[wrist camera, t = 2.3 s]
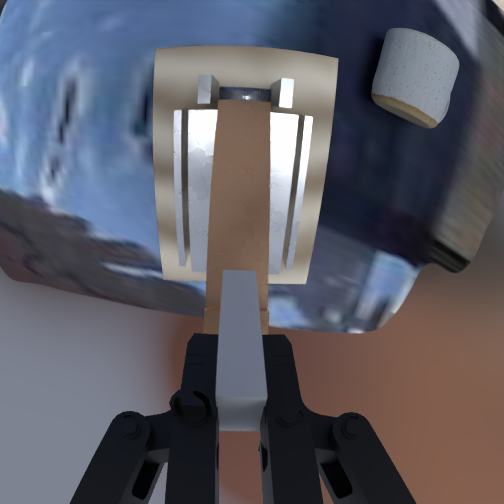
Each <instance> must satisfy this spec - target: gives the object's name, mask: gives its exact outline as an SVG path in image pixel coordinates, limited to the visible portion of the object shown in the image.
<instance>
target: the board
mask: <svg viewBox="0 0 504 504" xmlns="http://www.w3.org/2000/svg"><path fill="white" fill-rule="evenodd" d="M337 70H338V58H333V57H328V56H323V55H318V54H312V53H306V52H300V51H293V50H285V49H276V48H265V47H251V46H223V45H212V46H184V47H170V48H160V49H156V52H155V66H154V87H153V162H154V184H155V200H156V213H157V225H158V235H159V245H160V254H161V262H162V270H163V277H164V280H184V281H206V272H192V269H191V252H190V253H189V256H188V260H187V263H186V267H183V266H179V257H178V244H177V230H176V213H175V190H174V110H181V109H189V110H193V109H218V104H213V103H202V104H198V83H199V74H212V75H213V76H214V77H215V78H216V79H217V80H218V81H219V89H220V86H231V87H253V88H267V89H271V84H272V83H274V82H276V81H277V80H279V79H281V78H286V79H294V86H293V98H292V108H285V107H275V106H271V112H281V113H290V114H294V115H297V114H299V115H306V116H310V117H313V120H312V129H311V138H310V147H309V156H308V164H307V172H306V180H305V187H304V195H303V202H302V209H301V216H300V223H299V229H298V236H297V242H296V249H295V255H294V261H293V267H292V270H286V269H285V265H284V261H283V257H282V260H281V267H280V274H279V275H273V274H268V283H272V284H306V280H307V276H308V271H309V266H310V261H311V256H312V251H313V245H314V240H315V235H316V229H317V224H318V218H319V212H320V206H321V200H322V194H323V188H324V181H325V175H326V168H327V161H328V153H329V146H330V138H331V130H332V121H333V112H334V103H335V93H336V82H337ZM218 101H219V92H218Z"/></svg>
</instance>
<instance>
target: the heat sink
mask: <svg viewBox="0 0 504 504" xmlns="http://www.w3.org/2000/svg"><path fill="white" fill-rule="evenodd" d="M293 86H294V79H286V78H281V79H279V80H277V81H276V82H274V83H272V84H271V106H275V107H285V108H292V98H293ZM218 92H219V81H218V80H217V79H216V78H215V77H214V76H213V75H212V74H199V83H198V104H202V103H213V104H218ZM217 110H218V109H193V110H189V109H181V110H174V190H175V213H176V230H177V244H178V257H179V266H183V267H186V263H187V260H188V256H189V253H190V252H191V269H192V272H207V246H208V225H209V207H210V192H211V178H212V164H213V152H214V141H215V130H216V120H217ZM312 120H313V117H310V116H306V115H299V114H297V115H294V114H290V113H281V112H271V166H270V231H269V272H268V274H273V275H279V274H280V267H281V260H282V257H283V261H284V265H285V269H286V270H292V267H293V261H294V255H295V249H296V242H297V236H298V229H299V223H300V216H301V209H302V202H303V195H304V187H305V180H306V172H307V164H308V156H309V147H310V138H311V129H312Z"/></svg>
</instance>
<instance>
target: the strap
mask: <svg viewBox="0 0 504 504" xmlns="http://www.w3.org/2000/svg"><path fill="white" fill-rule="evenodd" d="M270 166H271V89H267V88H253V87H231V86H220V89H219V101H218V110H217V120H216V130H215V141H214V152H213V164H212V178H211V192H210V207H209V225H208V246H207V272H206V308H205V309H204V334H219V323H220V308H221V294H222V281H223V270H249V271H256V277H257V288H258V299H259V310H260V320H261V331H262V335H268V329H269V311H268V310H267V306H268V272H269V231H270Z"/></svg>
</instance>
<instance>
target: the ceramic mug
mask: <svg viewBox="0 0 504 504" xmlns="http://www.w3.org/2000/svg"><path fill="white" fill-rule="evenodd" d="M458 69H459V61H458V59H457V57H456V55H455V54H454V53H453V52H452V51H451V50H450V49H449V48H448V47H447V46H445V45H444V44H442V43H441V42H439V41H438V40H436V39H434V38H433V37H431V36H429V35H427V34H424V33H422V32H419V31H415V30H411V29H407V28H393V29H390V30H388V31H387V33H386V36H385V40H384V44H383V47H382V51H381V55H380V59H379V63H378V67H377V70H376V73H375V76H374V80H373V84H372V93H371V96H372V99H373V100H374V102H375V103H376V104H377V105H379V106H380V107H382V108H384V109H386V110H387V111H389V112H391V113H393V114H395V115H397V116H399V117H402V118H404V119H406V120H408V121H410V122H412V123H415V124H417V125H419V126H422V127H425V128H434V127H436V126H437V124H438V123H439V122H441V121H442V119H443V118H444V116H445V114H446V112H447V110H448V106H449V101H450V93H451V90H452V88H453V85H454V82H455V79H456V76H457V72H458Z"/></svg>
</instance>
